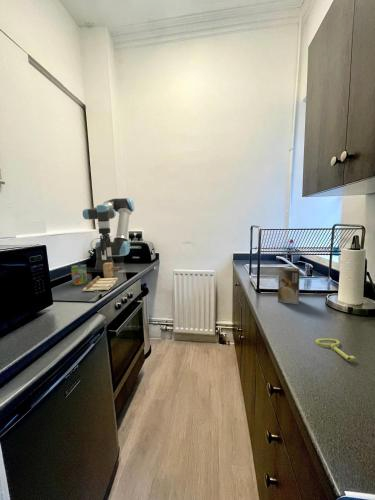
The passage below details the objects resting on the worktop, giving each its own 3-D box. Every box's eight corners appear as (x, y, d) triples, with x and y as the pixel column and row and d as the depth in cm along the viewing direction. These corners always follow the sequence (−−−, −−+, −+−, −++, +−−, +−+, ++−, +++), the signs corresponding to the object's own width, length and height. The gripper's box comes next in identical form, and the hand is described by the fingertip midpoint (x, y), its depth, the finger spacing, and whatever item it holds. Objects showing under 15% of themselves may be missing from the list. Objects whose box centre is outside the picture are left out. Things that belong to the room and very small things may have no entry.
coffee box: (298, 300, 110) (300, 268, 107) (298, 304, 104) (300, 271, 101) (278, 297, 114) (279, 266, 111) (277, 301, 108) (278, 269, 106)
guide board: (95, 280, 153) (94, 275, 152) (117, 279, 154) (117, 274, 153) (82, 292, 131) (82, 286, 130) (109, 290, 132) (108, 284, 131)
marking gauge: (106, 276, 164) (105, 262, 162) (120, 275, 164) (119, 262, 163) (104, 278, 158) (102, 264, 156) (118, 277, 159) (117, 263, 157)
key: (349, 365, 64) (349, 358, 64) (312, 342, 75) (312, 336, 75) (366, 359, 66) (366, 352, 66) (328, 338, 78) (328, 332, 77)
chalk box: (73, 282, 151) (70, 260, 149) (87, 280, 155) (85, 259, 153) (72, 286, 143) (69, 263, 141) (88, 283, 147) (85, 261, 144)
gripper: (103, 227, 167) (106, 255, 170) (92, 228, 142) (95, 261, 146) (114, 226, 168) (116, 254, 171) (104, 228, 143) (107, 261, 146)
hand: (106, 257), depth 158 cm, fingers open, 13 cm apart
